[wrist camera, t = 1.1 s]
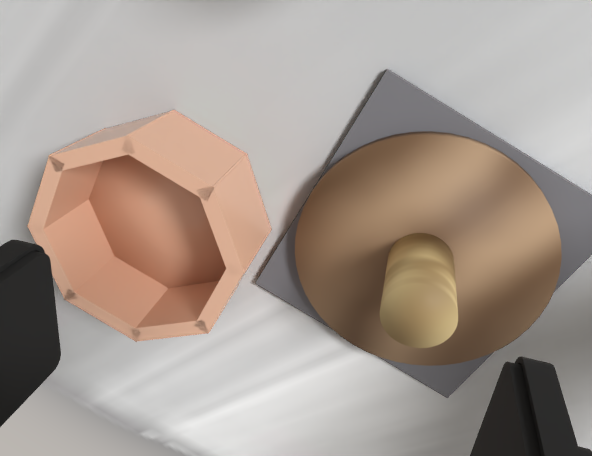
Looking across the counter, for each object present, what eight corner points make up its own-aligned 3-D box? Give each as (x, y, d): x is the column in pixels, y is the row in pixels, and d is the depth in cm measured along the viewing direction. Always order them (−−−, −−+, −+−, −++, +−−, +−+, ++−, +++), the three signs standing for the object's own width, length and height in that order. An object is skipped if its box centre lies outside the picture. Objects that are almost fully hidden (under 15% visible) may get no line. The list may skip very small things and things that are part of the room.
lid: (620, 225, 31) (667, 289, 25) (451, 393, 38) (455, 474, 32) (381, 78, 30) (368, 105, 24) (258, 278, 38) (224, 337, 32)
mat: (624, 215, 31) (627, 218, 30) (447, 393, 39) (447, 397, 39) (387, 68, 30) (386, 70, 30) (257, 279, 39) (255, 283, 38)
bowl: (298, 184, 35) (274, 223, 29) (217, 319, 41) (186, 371, 36) (122, 77, 34) (66, 97, 29) (68, 230, 41) (13, 269, 35)
